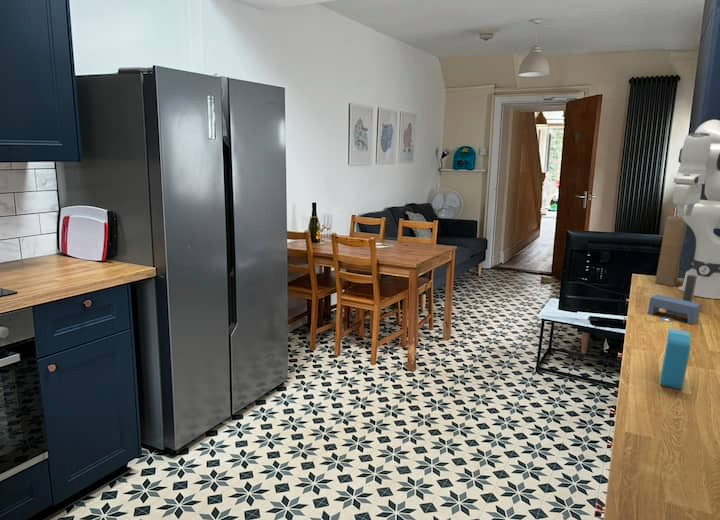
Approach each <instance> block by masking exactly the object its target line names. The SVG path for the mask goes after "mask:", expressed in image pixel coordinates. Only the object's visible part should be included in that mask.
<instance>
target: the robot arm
mask: <svg viewBox="0 0 720 520" xmlns="http://www.w3.org/2000/svg"><path fill="white" fill-rule="evenodd" d="M678 154H679V155H678V160H677V162H679V167H678V170H677V173H676V175H675V176H674V177H673V183H674V186H673V192H672V193H673V194H672V203H673V205H677V206H676V210H677V213H676V217H682V218H683V220H684V222H685V223H686V224H687V226H688V227H689V228H690V229H691V230H692V232H693V234H694V237H695V249H694V250H695V252H694V258H693V259H692V262H691V268H690V269H688V270H687V271H686V272H685V276H684V280H683V283H682V285H681V286H678V287H677V290H680V291H682V292H684V291H685V286H686V281H687V276H688V275H694V276H697V280H696V285H695V290H694V295H693V296H696V297H700V298H707V299H713V300H714V299H717V300H718V299H719V300H720V236H718V235H716V234H715V233H714V230H715V229H720V120H718V119H710V120H707V121H704V122H703V123H702V124H700V125H699V126H698V127H697V128H696V129H695V131H694V132H691V133H688V134H687V135H685V139H684V141H683V145H682V147H681V148H680V149H679V153H678ZM703 185H704V196H705V197H706V198H707V199H701V196H702V188H703Z"/></svg>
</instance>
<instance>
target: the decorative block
mask: <svg viewBox="0 0 720 520" xmlns="http://www.w3.org/2000/svg"><path fill="white" fill-rule="evenodd" d="M687 226H688V225H687V224H686V223H685V222H684V220H683V218H682V217H677V216H672V215H668V216H667V217H666V219H665V226H664V231H663V236H662V242H661V248H660V253H659V259H658V263H657V264H658V265H657V269H656V276H655V280H654V284H656V283H657V285H661V286H662V285H663V286H667V285H669V286H668V287H675V285H676V284H677V282H678V279H679V273H680V270H681V269H680V263H681V256H682V252H683V246H684V242H685V236H686V231H687Z"/></svg>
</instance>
